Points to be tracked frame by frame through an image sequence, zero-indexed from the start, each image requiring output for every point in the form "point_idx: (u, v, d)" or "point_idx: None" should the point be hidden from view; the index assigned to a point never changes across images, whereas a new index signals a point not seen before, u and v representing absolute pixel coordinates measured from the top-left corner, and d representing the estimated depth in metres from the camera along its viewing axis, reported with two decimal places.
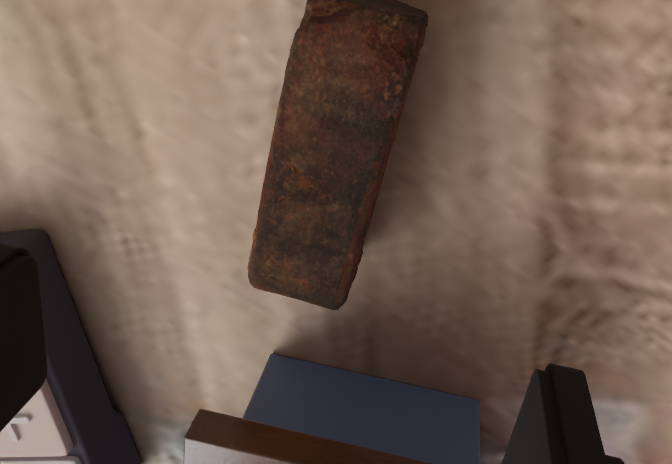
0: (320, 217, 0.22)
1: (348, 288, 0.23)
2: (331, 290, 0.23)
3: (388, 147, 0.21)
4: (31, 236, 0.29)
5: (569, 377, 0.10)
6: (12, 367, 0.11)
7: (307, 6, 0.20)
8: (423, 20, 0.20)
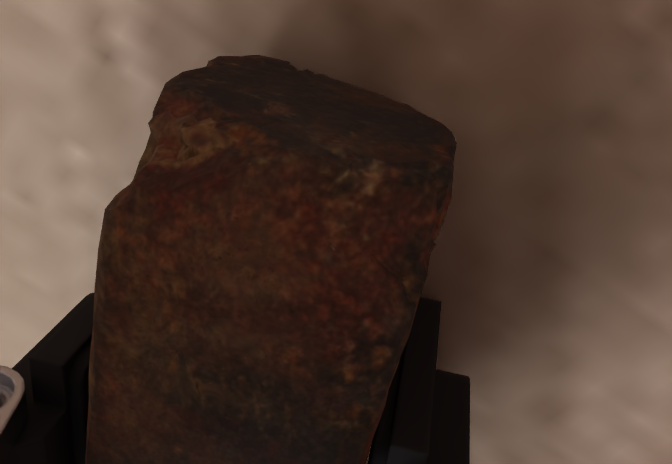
0: None
1: None
2: None
3: None
4: None
5: (425, 306, 0.11)
6: None
7: (151, 128, 0.08)
8: (447, 173, 0.07)
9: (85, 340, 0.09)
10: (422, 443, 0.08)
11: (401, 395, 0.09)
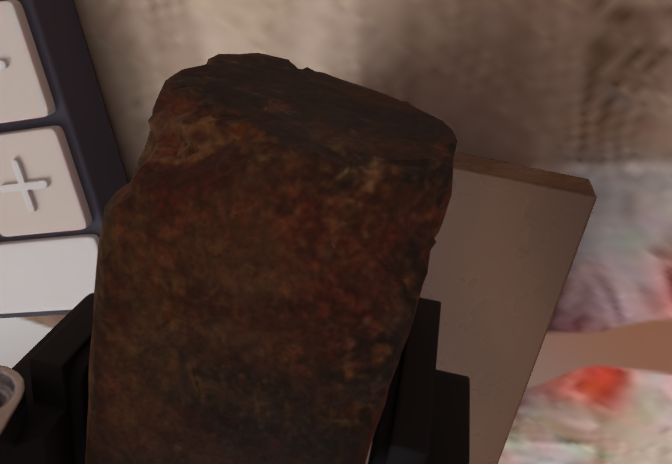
0: None
1: None
2: None
3: None
4: None
5: (425, 306, 0.11)
6: None
7: (151, 126, 0.08)
8: (447, 170, 0.07)
9: (85, 340, 0.09)
10: (422, 443, 0.08)
11: (401, 395, 0.09)
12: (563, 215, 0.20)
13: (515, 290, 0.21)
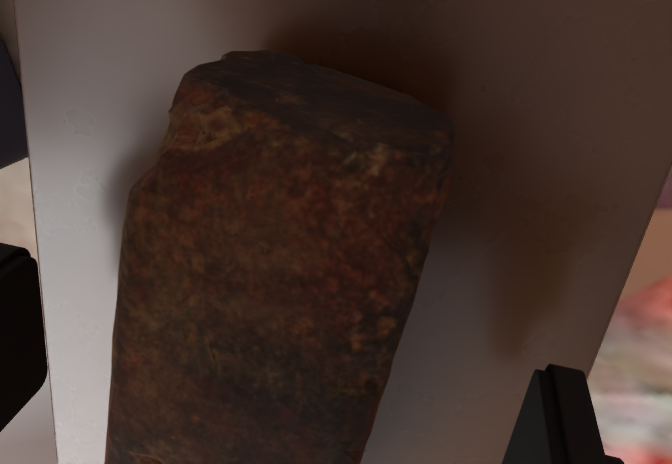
0: None
1: None
2: None
3: (365, 439, 0.09)
4: None
5: (569, 377, 0.10)
6: (12, 367, 0.11)
7: (171, 117, 0.09)
8: (447, 156, 0.08)
9: None
10: None
11: None
12: None
13: None
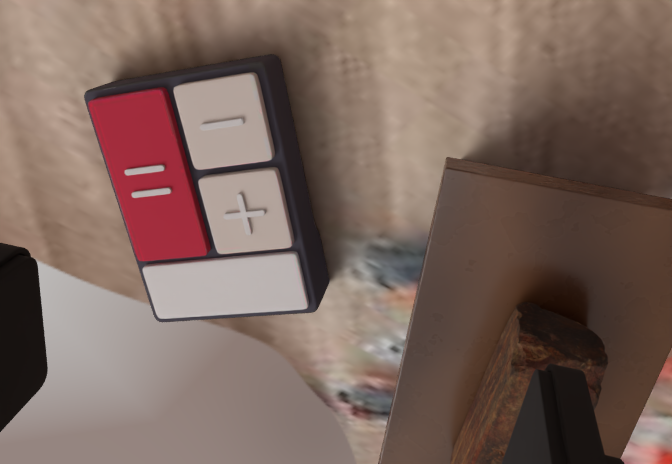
0: None
1: None
2: None
3: None
4: (271, 56, 0.35)
5: (569, 377, 0.10)
6: (12, 367, 0.11)
7: (517, 344, 0.27)
8: (607, 360, 0.27)
9: None
10: None
11: None
12: None
13: (662, 290, 0.29)
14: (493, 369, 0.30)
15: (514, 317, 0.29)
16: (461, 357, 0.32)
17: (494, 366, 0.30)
